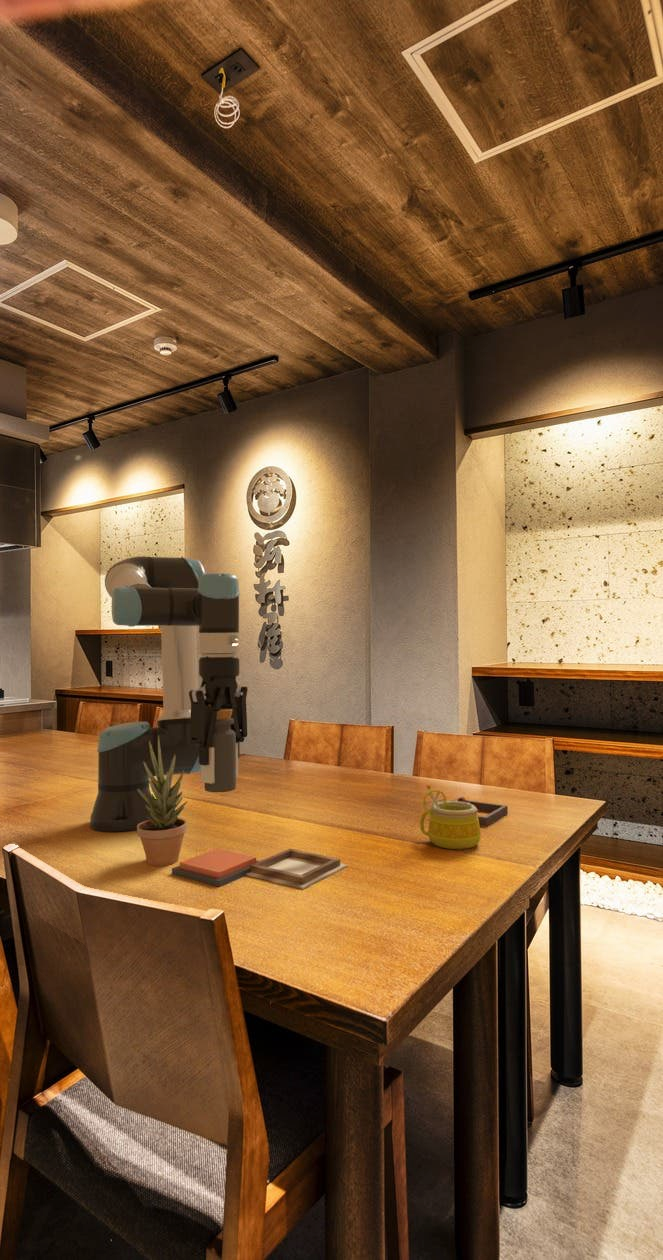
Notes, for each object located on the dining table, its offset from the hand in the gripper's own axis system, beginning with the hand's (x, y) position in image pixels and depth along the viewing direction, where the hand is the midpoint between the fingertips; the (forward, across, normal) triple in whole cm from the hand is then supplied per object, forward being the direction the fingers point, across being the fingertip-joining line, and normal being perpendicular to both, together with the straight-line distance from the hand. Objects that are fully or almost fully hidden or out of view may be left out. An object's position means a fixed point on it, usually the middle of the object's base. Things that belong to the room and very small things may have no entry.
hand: (219, 779), depth 127 cm
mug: (+17, +38, -29) cm, 51 cm away
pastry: (+17, +60, -23) cm, 66 cm away
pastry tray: (+17, +61, -25) cm, 68 cm away
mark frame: (+17, +7, -12) cm, 22 cm away
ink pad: (+17, 0, 0) cm, 17 cm away
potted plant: (+17, -2, +13) cm, 22 cm away
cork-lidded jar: (+2, 0, 0) cm, 2 cm away
